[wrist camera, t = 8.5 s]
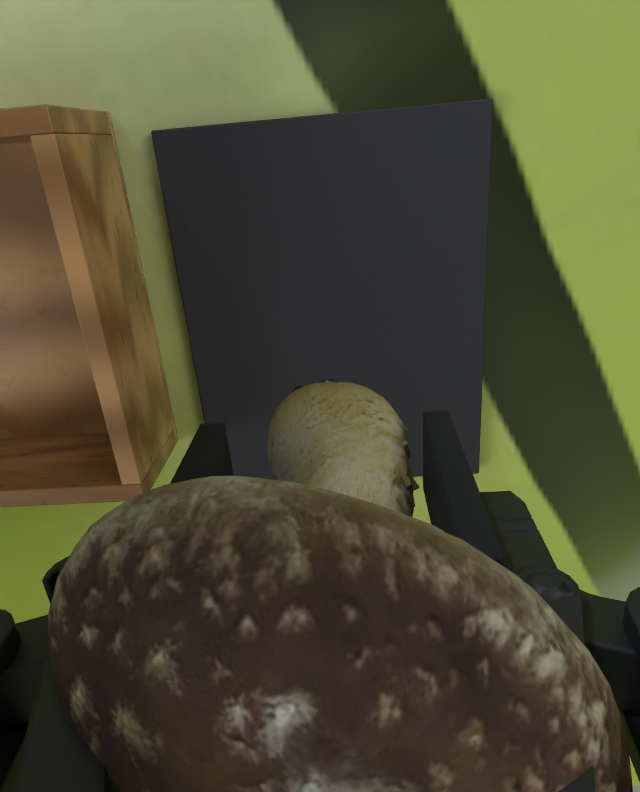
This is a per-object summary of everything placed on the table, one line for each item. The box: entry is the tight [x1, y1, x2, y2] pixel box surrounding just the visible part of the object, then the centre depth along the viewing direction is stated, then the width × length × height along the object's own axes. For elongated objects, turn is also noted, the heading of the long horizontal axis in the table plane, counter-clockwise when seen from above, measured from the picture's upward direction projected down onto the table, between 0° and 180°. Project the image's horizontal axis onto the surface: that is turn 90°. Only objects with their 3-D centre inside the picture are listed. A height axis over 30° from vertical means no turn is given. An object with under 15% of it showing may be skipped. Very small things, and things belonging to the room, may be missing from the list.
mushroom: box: [48, 378, 633, 792], centre depth 14 cm, size 9×9×15 cm
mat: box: [151, 99, 493, 480], centre depth 31 cm, size 20×16×1 cm
